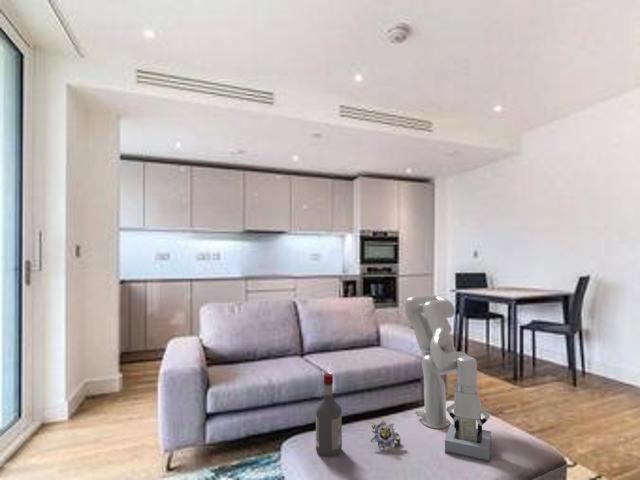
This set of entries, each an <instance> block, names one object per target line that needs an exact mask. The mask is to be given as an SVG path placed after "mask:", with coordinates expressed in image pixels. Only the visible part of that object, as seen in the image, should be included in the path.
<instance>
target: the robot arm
mask: <svg viewBox="0 0 640 480" xmlns="http://www.w3.org/2000/svg"><path fill="white" fill-rule="evenodd" d="M404 311H405V314H406V317H407V319H408V322H409V323H410V325H411V327H412V330H413V332H414V335H415V338H416V342H417V344H418V347H419V349H420V351H422V352H423V353H428V354H425V355H424V356H423V357H422V358H421V367H422V368H421V369H422V373H423V374H422V375H423V388H424V393H423V394H424V395H423V396H424V410H417V409H416V410H415V414H416V417H419V418H420V417H421V423H422V424H423V426H426V427H428V428H430V429H431V428H432V429H436V430H437V429H439V430H440V429H441V430H442V429H446V428H449V426H450V424H451V421H450V420H449V419H448V418H447V414H448V415H449V416H450V418H451V419H452V421H453V425H454V428H456V431H458V429H459V427H458V417H463V418H467V419H473V420H476V423H477V429H478V436H480V433H482V430H483V425H484V424H485V423H487V421H488V420H490V418H491V415H490V413H488V412H487V411H486V410H484V408H482V405H481V404H482V402H481V401H482V400H481V397H480V392H479V391H478V364H477V363H478V362H477V360H476V358H475V357H472V356H469V355H468V354H467V353H466V352H464V351H456V348H455V346H454V343H453V340H452V339H451V336H450V334H451V332H452V326H451V324H450V322H449V321H448V319H450V318H452V317H454V315H455V307H454V305H453V302H451V300H448V299H446V298H444V297H441V296H439V295H433V294H432V295H431V294H430V295H414V296H411V297H408V298H407V299H406V300H405V302H404ZM423 314H424V315H423ZM450 374H456V378H457V380H456V383H453V387H454V388H456V389H455V391H454V401H453V404H451V405H449V406H447V395H446V394H447V393H446V392H447V391H446V384H445V383H446V382H445V381H444V380H443V378H442V377H441V376H442V375H450ZM452 410H453V411H452ZM482 415H483V416H484V417H483V418H481V417H482Z"/></svg>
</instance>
